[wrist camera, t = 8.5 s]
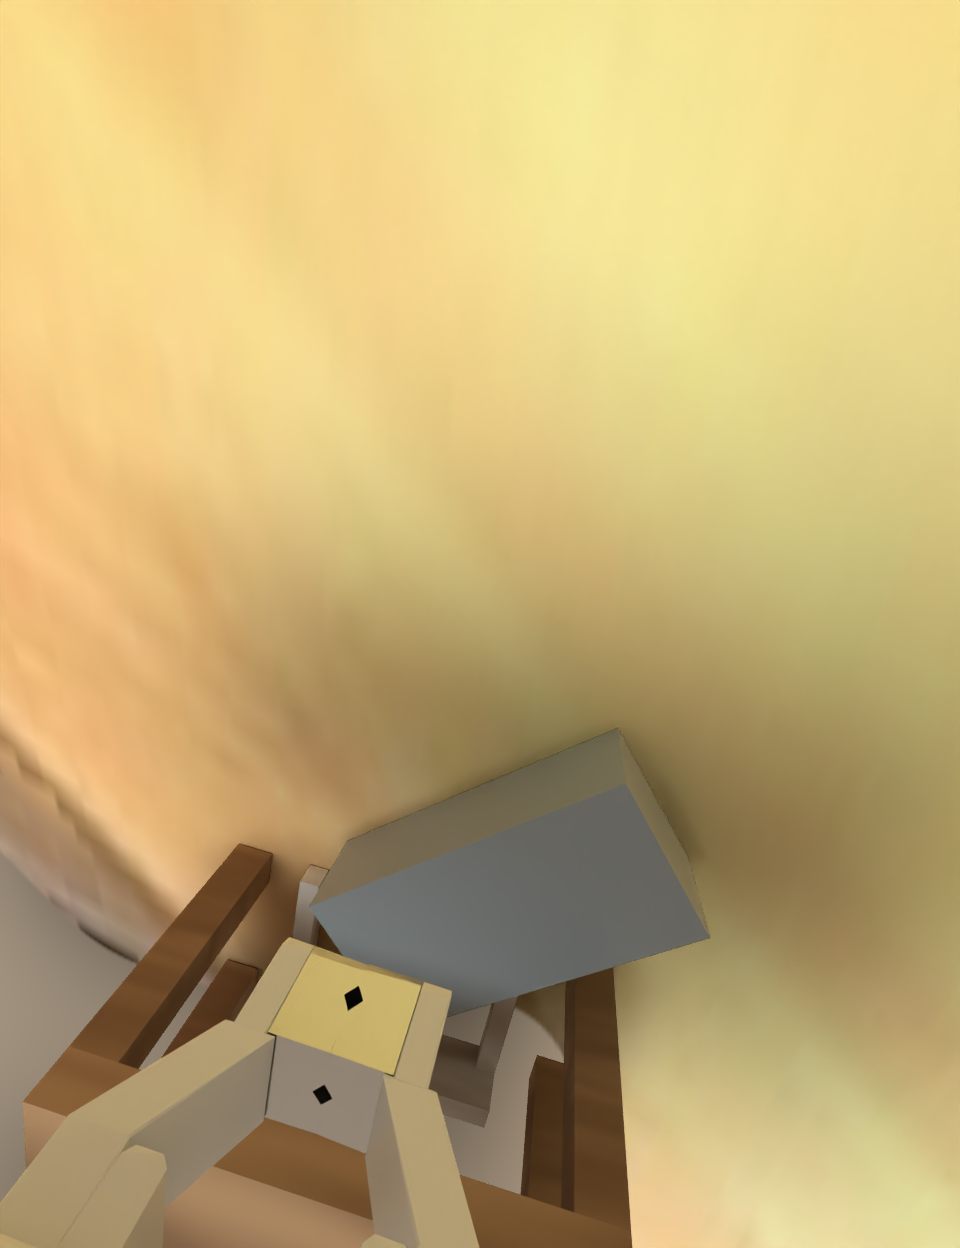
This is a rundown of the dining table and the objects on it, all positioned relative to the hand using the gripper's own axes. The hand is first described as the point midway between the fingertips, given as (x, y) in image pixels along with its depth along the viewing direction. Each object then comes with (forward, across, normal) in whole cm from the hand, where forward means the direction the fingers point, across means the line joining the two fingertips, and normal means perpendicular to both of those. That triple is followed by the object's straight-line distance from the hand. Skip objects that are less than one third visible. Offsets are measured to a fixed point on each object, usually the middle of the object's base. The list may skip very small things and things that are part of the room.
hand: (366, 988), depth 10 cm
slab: (+12, -2, +6) cm, 14 cm away
